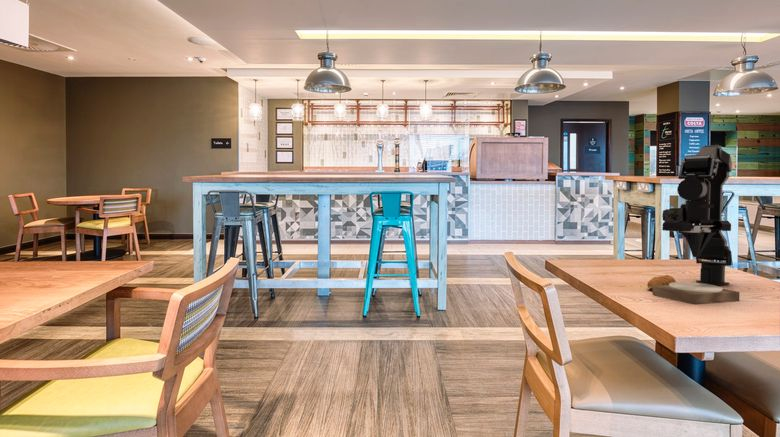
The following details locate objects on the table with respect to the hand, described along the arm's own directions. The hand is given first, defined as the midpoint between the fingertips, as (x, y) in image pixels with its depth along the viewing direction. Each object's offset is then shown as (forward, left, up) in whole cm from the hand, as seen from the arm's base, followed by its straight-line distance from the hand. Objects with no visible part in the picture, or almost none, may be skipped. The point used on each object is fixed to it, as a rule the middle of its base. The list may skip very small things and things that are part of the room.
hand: (695, 257), depth 131 cm
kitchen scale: (0, 0, -11) cm, 11 cm away
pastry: (+1, -14, -12) cm, 18 cm away
